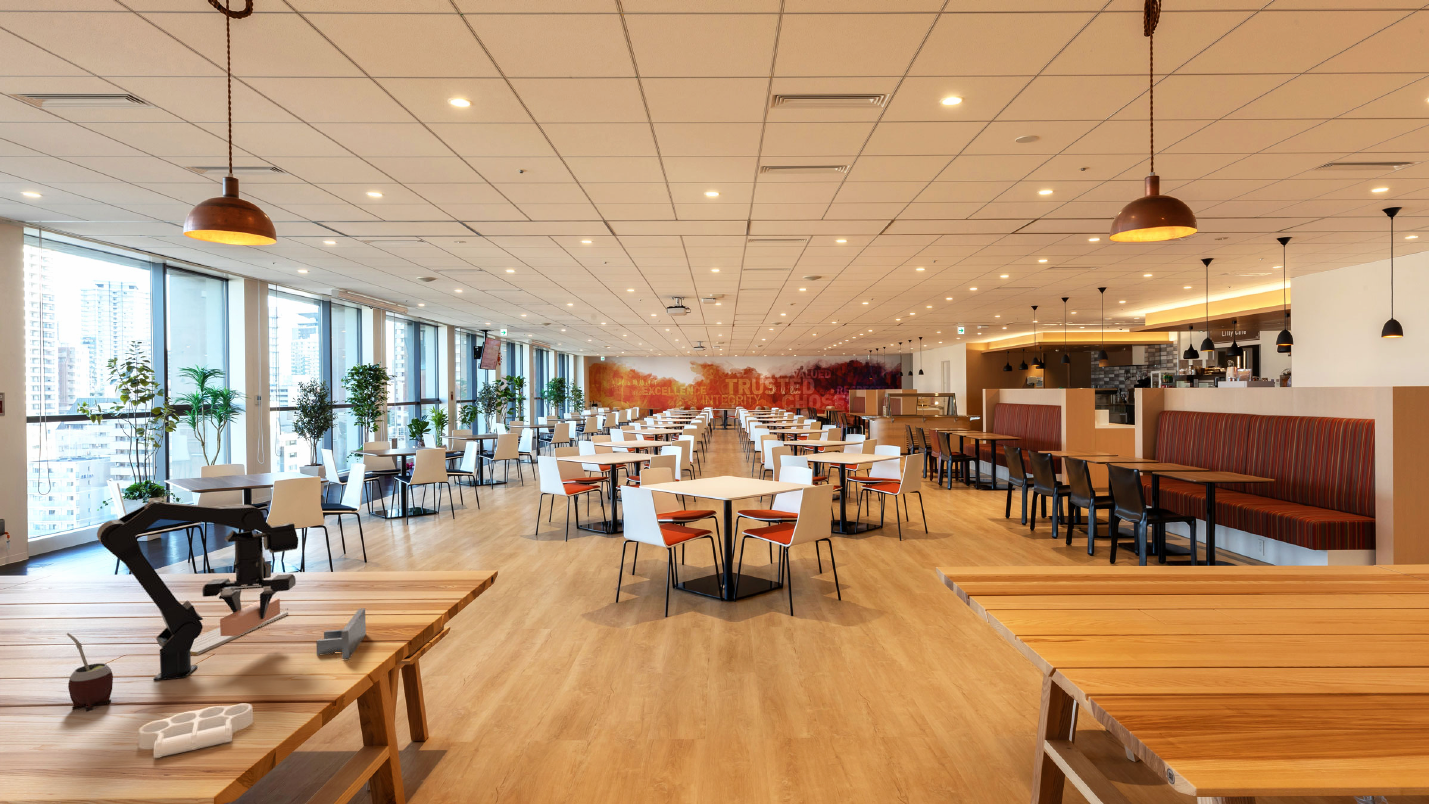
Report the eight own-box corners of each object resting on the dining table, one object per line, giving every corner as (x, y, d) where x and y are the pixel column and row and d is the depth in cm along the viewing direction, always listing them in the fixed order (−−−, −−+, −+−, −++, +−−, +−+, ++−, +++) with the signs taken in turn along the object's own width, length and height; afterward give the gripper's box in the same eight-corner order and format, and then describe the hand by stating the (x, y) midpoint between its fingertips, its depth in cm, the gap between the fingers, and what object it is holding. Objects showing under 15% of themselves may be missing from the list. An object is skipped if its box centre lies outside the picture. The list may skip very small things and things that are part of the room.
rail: (237, 636, 172) (236, 619, 172) (220, 636, 172) (219, 619, 172) (280, 613, 188) (279, 598, 188) (264, 613, 188) (264, 598, 188)
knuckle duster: (131, 768, 129) (143, 734, 141) (252, 741, 138) (253, 711, 151) (130, 750, 129) (142, 717, 141) (251, 724, 138) (253, 695, 151)
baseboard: (155, 655, 183) (197, 657, 181) (155, 643, 183) (197, 646, 181) (251, 615, 213) (288, 616, 212) (251, 605, 213) (288, 606, 212)
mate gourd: (109, 708, 152) (106, 636, 152) (59, 717, 148) (56, 643, 148) (117, 694, 159) (114, 626, 158) (69, 703, 155) (66, 632, 154)
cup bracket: (349, 659, 177) (348, 631, 177) (310, 663, 175) (309, 634, 175) (365, 634, 195) (365, 608, 194) (330, 637, 193) (330, 611, 192)
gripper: (301, 546, 189) (303, 606, 190) (219, 551, 185) (222, 612, 186) (287, 557, 179) (289, 620, 179) (200, 562, 174) (202, 627, 175)
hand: (251, 619), depth 180 cm, fingers closed on rail, 5 cm apart
